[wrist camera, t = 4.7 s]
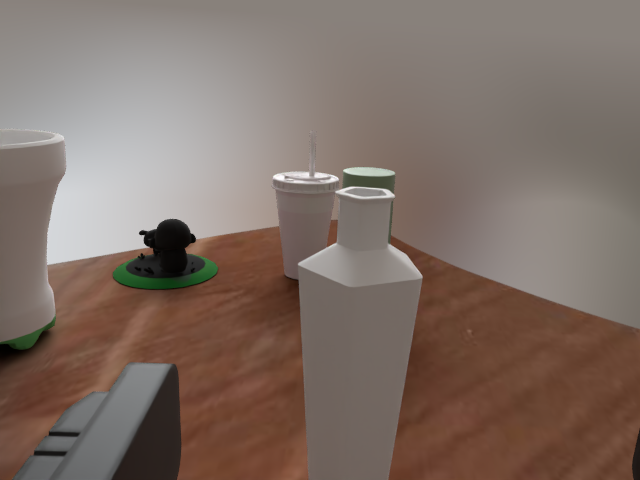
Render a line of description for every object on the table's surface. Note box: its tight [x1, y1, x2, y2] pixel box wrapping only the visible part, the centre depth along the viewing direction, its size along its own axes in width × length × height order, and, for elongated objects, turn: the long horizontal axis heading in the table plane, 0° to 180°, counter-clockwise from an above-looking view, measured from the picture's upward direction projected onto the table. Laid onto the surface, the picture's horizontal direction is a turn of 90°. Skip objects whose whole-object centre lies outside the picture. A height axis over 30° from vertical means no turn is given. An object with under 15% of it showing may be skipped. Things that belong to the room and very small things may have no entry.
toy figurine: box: [113, 219, 218, 289], centre depth 54 cm, size 10×10×6 cm
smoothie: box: [272, 131, 339, 280], centre depth 53 cm, size 6×6×14 cm
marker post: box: [342, 167, 395, 244], centre depth 44 cm, size 6×6×12 cm
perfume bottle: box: [298, 187, 423, 480], centre depth 22 cm, size 5×4×15 cm
